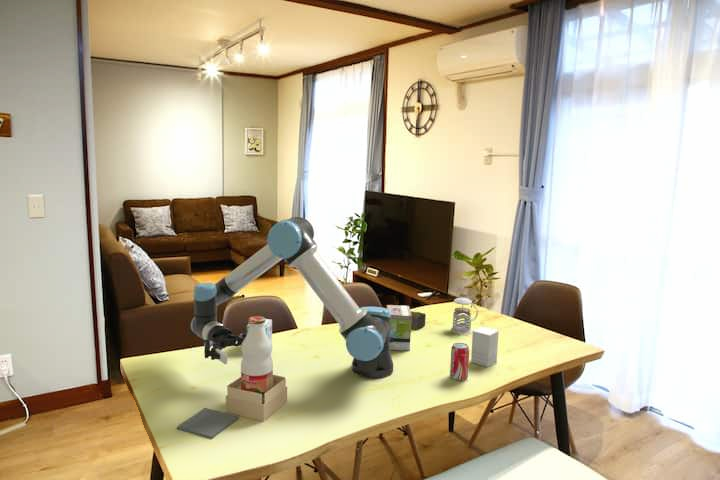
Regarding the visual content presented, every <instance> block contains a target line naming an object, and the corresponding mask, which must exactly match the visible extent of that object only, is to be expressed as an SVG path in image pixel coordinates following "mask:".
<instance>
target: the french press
mask: <svg viewBox="0 0 720 480" xmlns="http://www.w3.org/2000/svg"><path fill="white" fill-rule="evenodd" d="M461 280H463V283H465V281H466V280H467V277H466V276H463V277H462V278H461ZM462 293H463V294H462V296H461V297H456V298H455V299H454V300H453V302H454V304H458V305H462V307H456V308H454V309H453V310H454V311H453V316H452V318H453V319H452V327H451V328H450V329H451V330H450V332H452V331H453V332H452V333H454V332H455V333H454V334H457V333H459V334H458V335H469V334H473V330H472V329H471V326H472V322H473V321H475V320H476V319H477V318H478V316H479V315H478V313H479V310H478V309H477V307H476V305H474V304H472V303H473V301H472V300H471V299H469V298H467V297H464V295H465V289H463V291H462ZM464 305H467V306H468V305H470V308H471V309H472V308H473V307H474V308H475V310H476V314H475V317H473V318H472V314H471V309H470V308H466V307H464Z"/></svg>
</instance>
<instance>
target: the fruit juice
mask: <svg viewBox="0 0 720 480" xmlns="http://www.w3.org/2000/svg"><path fill="white" fill-rule="evenodd" d="M265 319H266V318H265V317H264V316H263V315H261V316H260V315H254V316H250V317H248V320H247V322H248V324H249V330H248V333H247V332H246V334H247V336H246V338H245V339H244V341H243V342H242V345H240V346H241V348H240V349H241V350H240V351H241V354H242V358H241V361H240V363H241V364H240V377H241V390H245V391H249V392H254V393H258V394H262V404H264V394H265V393H266V392H268V391H269V390H270V389H272V388H273V375H274V364H273V358H272V351H273V341H272V342H271V340H270V339H269V337H268V336H267V334H266V331H265V328H264V324H265ZM248 324H247V325H248Z"/></svg>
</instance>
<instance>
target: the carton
mask: <svg viewBox="0 0 720 480" xmlns="http://www.w3.org/2000/svg"><path fill="white" fill-rule="evenodd" d="M226 387H227V391H226V393H227V395H225V413H228V414H232V415H236V416H241V417H245V418H248V419H251V420H252V419H253V420H256V421H260V422H265V421H267V420H268V418H270V417H271V416H272V415H273V414H275V413H276V412H277V411H278V410H279V409H280V408H283V406H284V405H285V404H286V403H287V402H288V386H287V379H286V377H285V376H281V375H278V374H277V375H276V374H273V388H272V389H270V390H269V391H268V392H266V393H265V394H264V404H262V394H258V393H254V392H249V391H245V390H241V376H240V377H239V378H237V379H235V380H234V381H232V382H230V383H229V384H228V385H227V386H226Z"/></svg>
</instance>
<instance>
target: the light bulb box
mask: <svg viewBox="0 0 720 480" xmlns="http://www.w3.org/2000/svg"><path fill="white" fill-rule="evenodd" d="M264 328H265V331H266V334H267V336H268V337H269V339H270V340H271V342H272V343H273V320H272V319H268V318H265V324H264ZM248 330H249V324H247V325H246V334H247V333H248Z"/></svg>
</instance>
